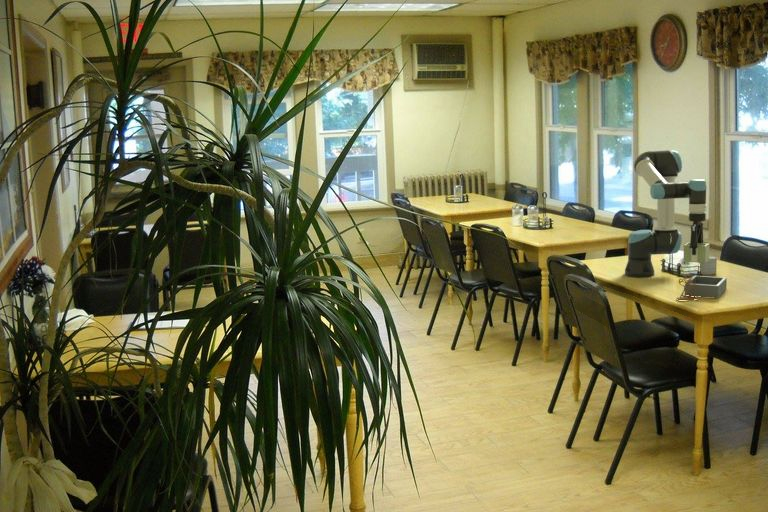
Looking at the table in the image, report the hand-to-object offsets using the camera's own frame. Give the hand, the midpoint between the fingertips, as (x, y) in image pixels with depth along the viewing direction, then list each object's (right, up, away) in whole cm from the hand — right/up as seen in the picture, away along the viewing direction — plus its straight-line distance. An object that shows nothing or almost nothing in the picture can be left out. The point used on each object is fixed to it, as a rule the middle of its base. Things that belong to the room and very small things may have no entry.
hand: (696, 260), depth 424 cm
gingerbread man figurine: (-8, -19, -11) cm, 23 cm away
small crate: (0, 0, 0) cm, 0 cm away
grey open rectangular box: (+5, -16, +1) cm, 16 cm away
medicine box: (+21, -8, +43) cm, 49 cm away
